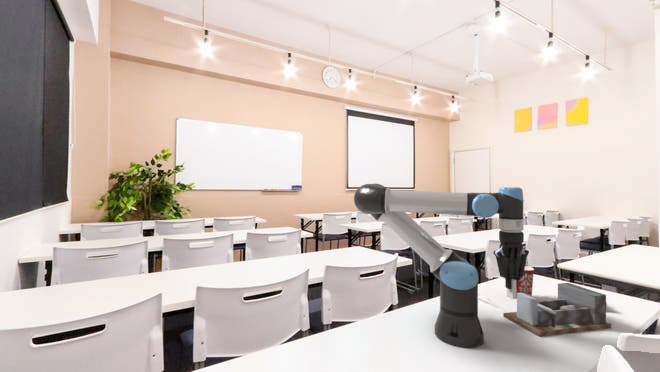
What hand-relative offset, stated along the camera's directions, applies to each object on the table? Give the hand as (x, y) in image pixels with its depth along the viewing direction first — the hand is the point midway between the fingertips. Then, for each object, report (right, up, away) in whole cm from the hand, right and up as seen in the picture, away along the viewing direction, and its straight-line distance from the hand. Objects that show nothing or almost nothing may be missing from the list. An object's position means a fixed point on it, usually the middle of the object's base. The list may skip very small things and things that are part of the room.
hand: (511, 297), depth 110 cm
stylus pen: (+4, -11, +22) cm, 24 cm away
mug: (+20, -11, +29) cm, 37 cm away
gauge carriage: (+10, -9, 0) cm, 13 cm away
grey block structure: (+18, -11, +4) cm, 21 cm away
